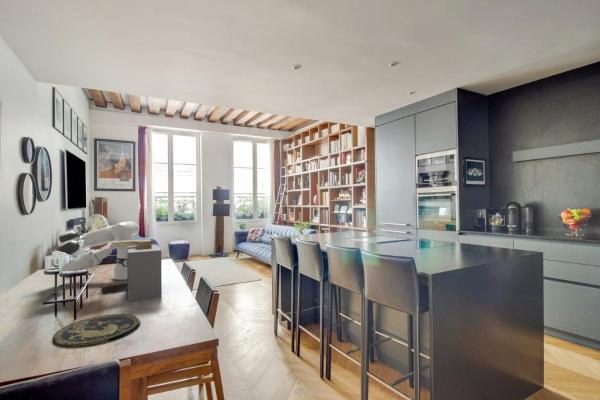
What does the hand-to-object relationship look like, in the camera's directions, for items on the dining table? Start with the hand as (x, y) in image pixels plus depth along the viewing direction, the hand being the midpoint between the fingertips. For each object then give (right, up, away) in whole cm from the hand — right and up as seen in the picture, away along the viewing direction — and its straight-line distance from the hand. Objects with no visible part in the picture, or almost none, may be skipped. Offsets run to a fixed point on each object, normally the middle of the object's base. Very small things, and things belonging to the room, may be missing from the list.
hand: (119, 243), depth 179 cm
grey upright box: (+14, -29, 0) cm, 32 cm away
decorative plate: (+22, -29, -52) cm, 64 cm away
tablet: (-3, -30, +13) cm, 33 cm away
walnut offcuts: (+14, -3, 0) cm, 14 cm away
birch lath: (+5, -2, +3) cm, 7 cm away
